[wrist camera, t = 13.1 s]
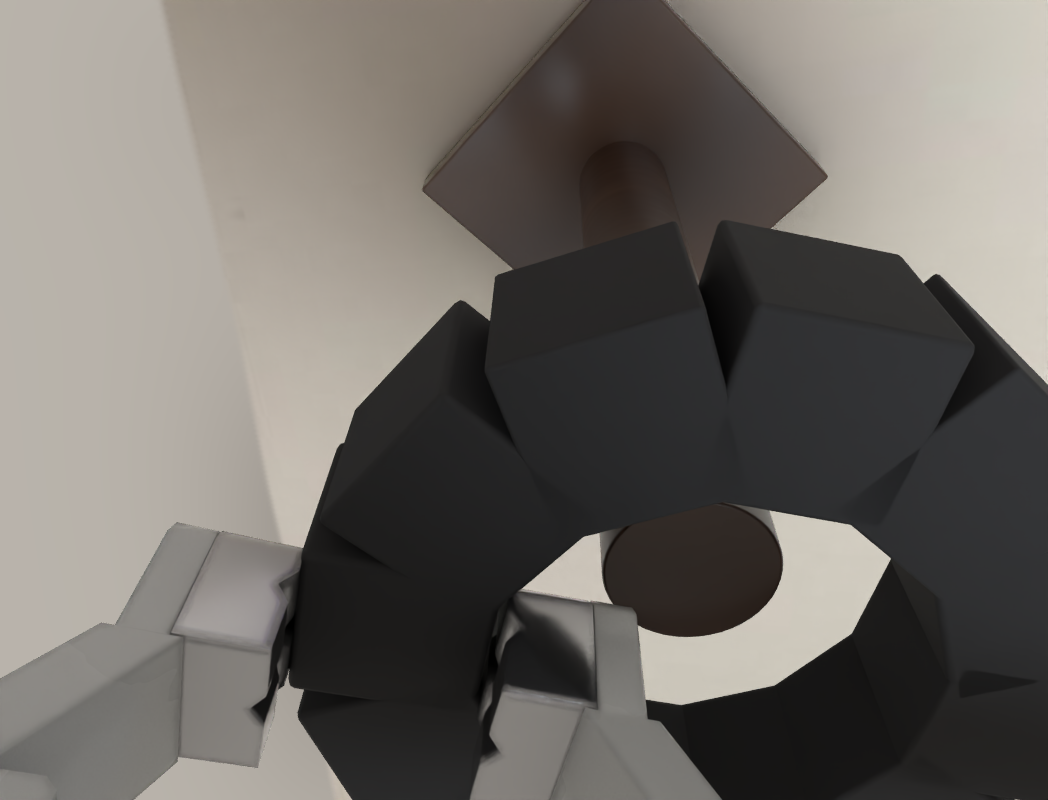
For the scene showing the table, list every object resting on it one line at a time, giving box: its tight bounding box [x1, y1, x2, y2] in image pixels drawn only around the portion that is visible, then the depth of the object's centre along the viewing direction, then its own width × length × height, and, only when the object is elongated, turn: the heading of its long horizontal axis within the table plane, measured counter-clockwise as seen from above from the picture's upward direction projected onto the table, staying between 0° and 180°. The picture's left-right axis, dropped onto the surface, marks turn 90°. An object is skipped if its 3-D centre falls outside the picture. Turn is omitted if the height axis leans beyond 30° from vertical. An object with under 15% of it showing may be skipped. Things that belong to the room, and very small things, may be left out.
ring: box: [289, 220, 1048, 800], centre depth 12 cm, size 10×10×2 cm
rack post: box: [422, 0, 828, 637], centre depth 20 cm, size 8×8×17 cm
